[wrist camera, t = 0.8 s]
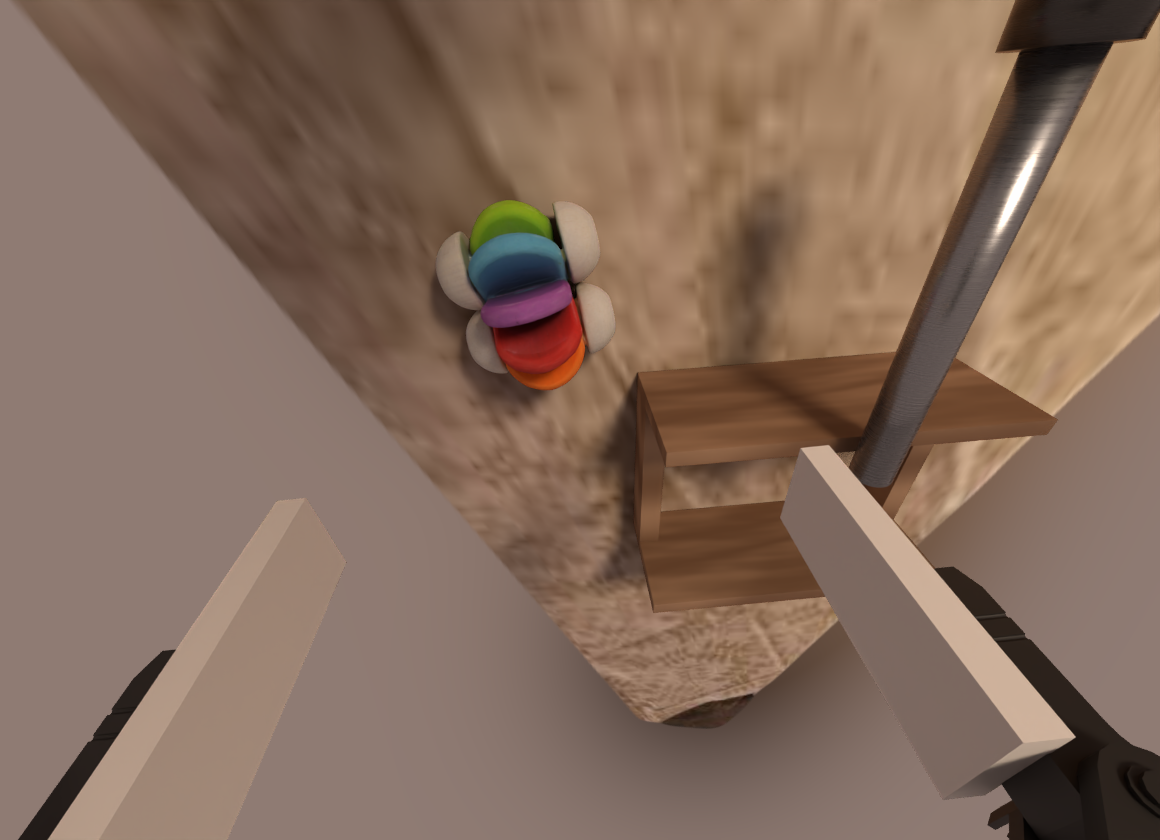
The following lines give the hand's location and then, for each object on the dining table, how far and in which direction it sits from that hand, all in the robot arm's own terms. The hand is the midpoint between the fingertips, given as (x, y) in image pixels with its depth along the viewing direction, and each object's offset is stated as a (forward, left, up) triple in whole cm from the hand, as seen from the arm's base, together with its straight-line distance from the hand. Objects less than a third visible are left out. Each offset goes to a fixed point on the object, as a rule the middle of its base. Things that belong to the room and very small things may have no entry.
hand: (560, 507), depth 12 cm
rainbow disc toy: (-1, -1, -17) cm, 18 cm away
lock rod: (-2, +16, -9) cm, 18 cm away
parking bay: (+13, +16, -17) cm, 27 cm away
